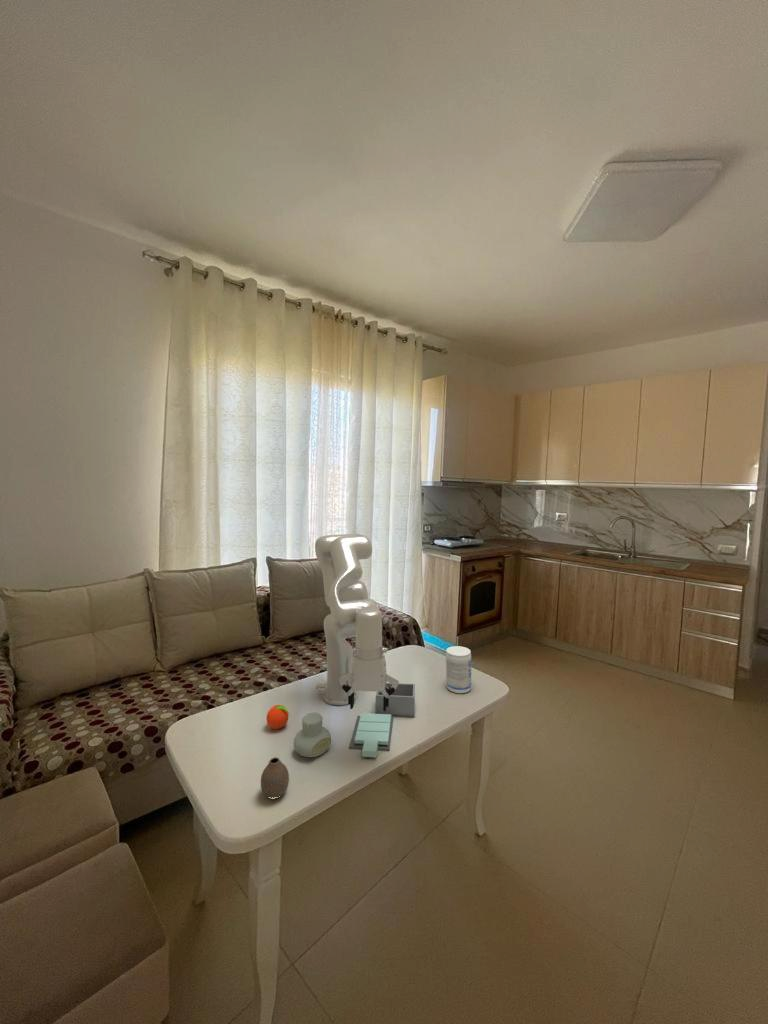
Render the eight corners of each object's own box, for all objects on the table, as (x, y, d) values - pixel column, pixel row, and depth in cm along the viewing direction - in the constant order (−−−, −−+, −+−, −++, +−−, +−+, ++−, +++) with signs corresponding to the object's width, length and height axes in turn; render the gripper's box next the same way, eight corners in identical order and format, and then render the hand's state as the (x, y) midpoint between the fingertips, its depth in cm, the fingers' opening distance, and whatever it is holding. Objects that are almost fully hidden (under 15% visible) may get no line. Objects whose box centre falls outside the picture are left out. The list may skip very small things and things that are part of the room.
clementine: (295, 722, 130) (295, 702, 130) (285, 735, 124) (284, 713, 123) (273, 719, 132) (273, 698, 132) (262, 731, 126) (261, 710, 125)
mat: (348, 748, 117) (348, 746, 117) (357, 717, 133) (357, 715, 133) (389, 750, 116) (389, 748, 116) (393, 719, 132) (393, 717, 132)
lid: (361, 717, 132) (361, 712, 132) (391, 719, 131) (391, 713, 131) (351, 756, 113) (351, 750, 113) (386, 758, 112) (386, 751, 112)
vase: (255, 799, 98) (254, 766, 98) (272, 780, 105) (271, 748, 104) (278, 807, 96) (277, 773, 95) (294, 787, 102) (293, 754, 102)
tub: (375, 715, 134) (375, 695, 134) (378, 701, 143) (378, 682, 142) (414, 717, 133) (414, 697, 132) (414, 702, 142) (414, 683, 141)
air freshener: (305, 766, 110) (304, 731, 109) (289, 752, 116) (288, 719, 115) (336, 747, 118) (335, 715, 117) (319, 735, 124) (318, 704, 123)
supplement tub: (474, 693, 148) (475, 655, 147) (450, 695, 147) (450, 656, 146) (466, 680, 157) (466, 644, 156) (442, 682, 156) (443, 646, 155)
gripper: (399, 646, 116) (399, 701, 118) (341, 644, 118) (341, 698, 120) (398, 658, 109) (397, 717, 111) (336, 655, 110) (336, 713, 112)
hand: (368, 707), depth 115 cm, fingers open, 9 cm apart
